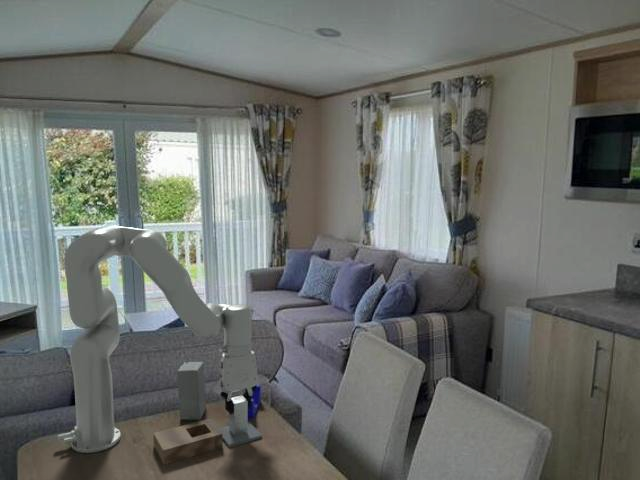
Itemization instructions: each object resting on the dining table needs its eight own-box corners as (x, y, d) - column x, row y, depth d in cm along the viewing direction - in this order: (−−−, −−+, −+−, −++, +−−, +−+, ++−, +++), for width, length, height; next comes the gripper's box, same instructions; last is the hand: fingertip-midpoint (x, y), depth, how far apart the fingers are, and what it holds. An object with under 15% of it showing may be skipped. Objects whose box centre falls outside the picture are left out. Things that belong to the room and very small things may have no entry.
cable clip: (247, 401, 165) (247, 384, 164) (260, 402, 165) (260, 384, 164) (238, 419, 153) (238, 400, 152) (253, 419, 153) (252, 401, 152)
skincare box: (200, 420, 151) (199, 371, 149) (177, 420, 151) (175, 370, 149) (207, 407, 160) (206, 360, 158) (185, 407, 160) (183, 360, 158)
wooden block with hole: (163, 464, 128) (163, 450, 128) (153, 446, 137) (153, 433, 136) (222, 447, 137) (222, 433, 136) (209, 431, 145) (209, 418, 145)
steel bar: (234, 437, 141) (234, 403, 139) (229, 431, 144) (229, 398, 143) (247, 433, 143) (247, 400, 141) (242, 427, 146) (242, 395, 145)
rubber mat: (229, 447, 137) (228, 444, 137) (216, 431, 145) (216, 429, 145) (262, 437, 142) (262, 435, 142) (247, 422, 150) (247, 420, 150)
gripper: (213, 358, 133) (214, 422, 135) (270, 347, 141) (270, 408, 144) (204, 349, 139) (205, 411, 141) (259, 339, 148) (259, 398, 150)
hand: (238, 409), depth 143 cm, fingers open, 4 cm apart
